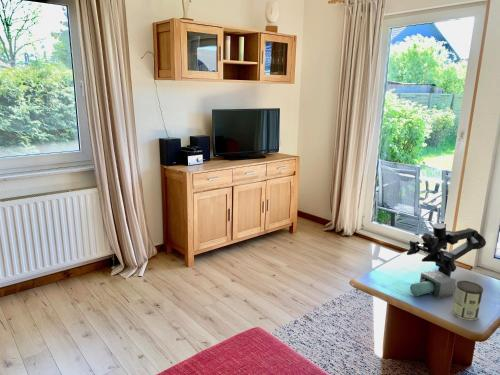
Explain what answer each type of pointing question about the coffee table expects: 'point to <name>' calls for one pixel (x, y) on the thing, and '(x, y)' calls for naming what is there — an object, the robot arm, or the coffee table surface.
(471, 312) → the coffee can
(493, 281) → the coffee table surface
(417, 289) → the pale green cylinder
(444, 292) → the housing
